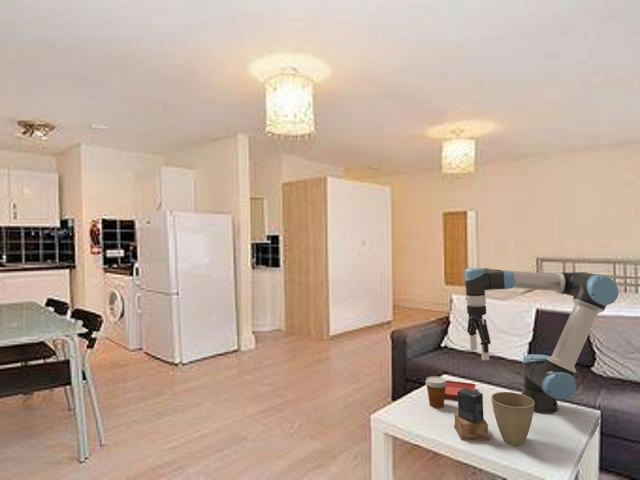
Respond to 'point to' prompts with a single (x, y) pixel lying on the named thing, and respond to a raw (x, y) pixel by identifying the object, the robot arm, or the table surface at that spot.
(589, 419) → the table surface
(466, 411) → the box
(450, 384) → the plant saucer
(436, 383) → the disposable coffee cup
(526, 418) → the plant pot
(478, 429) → the pedestal
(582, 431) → the table surface
